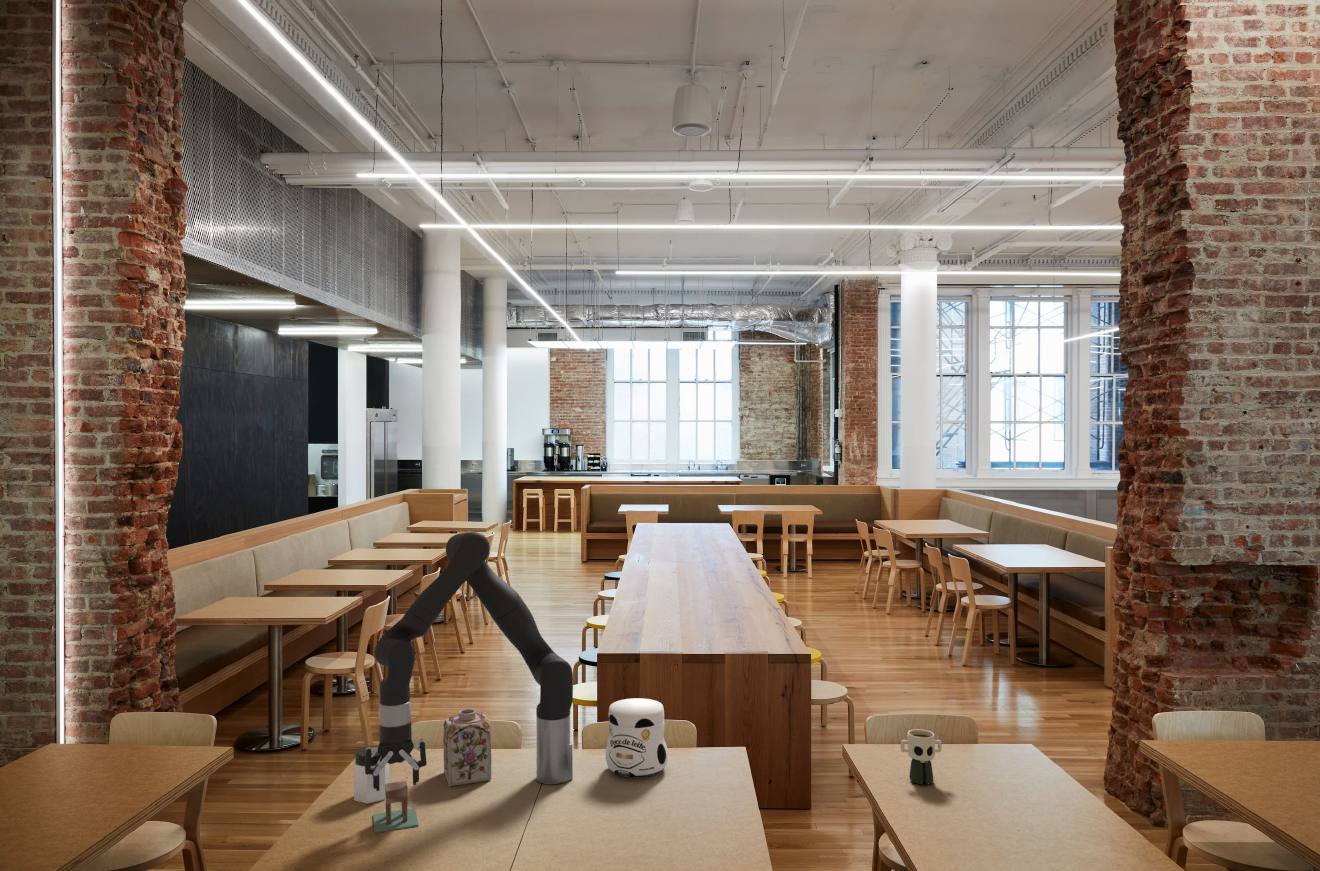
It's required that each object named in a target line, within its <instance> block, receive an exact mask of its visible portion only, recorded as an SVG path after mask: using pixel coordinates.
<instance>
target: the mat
mask: <svg viewBox="0 0 1320 871" xmlns="http://www.w3.org/2000/svg"><path fill="white" fill-rule="evenodd" d="M372 817H373V818H372V819H373V830H374V832H373V833H374V834H375V833H376V834H377V833H378V834H379V833H383V832H389V831H390V832H391V831H395V830H396V831H397V830H403V829H408V828H416V827H419V821H418V816H417V810H416V808H415V807H413V808H412V807H411V808H407V822H403V816H402V809H399V810H393V811H392V810H391V824H388V825H387V824H386V811H384V812H379V813H373V816H372Z"/></svg>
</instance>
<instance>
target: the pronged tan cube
mask: <svg viewBox="0 0 1320 871" xmlns="http://www.w3.org/2000/svg"><path fill="white" fill-rule="evenodd" d="M408 787H409V786H408V782H407V780H402V781H396V782H389V783H387V784H385V812H386V824H387V825H388V824H391V811H392V805H391V804H396V803H397V804H398V803H401V810H402V816H403V822H407V809H408V801H409V800H408V799H409V797H408V796H409V792H408V790H409V788H408Z"/></svg>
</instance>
